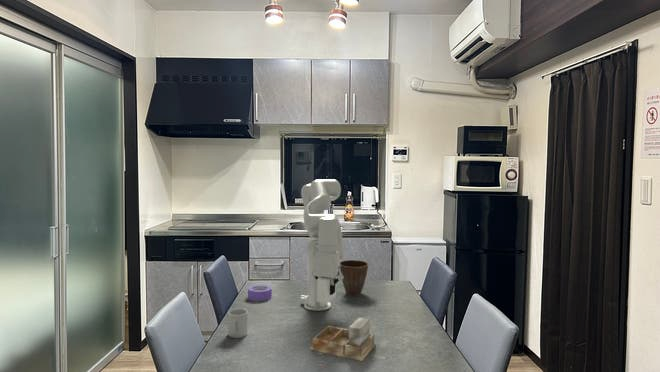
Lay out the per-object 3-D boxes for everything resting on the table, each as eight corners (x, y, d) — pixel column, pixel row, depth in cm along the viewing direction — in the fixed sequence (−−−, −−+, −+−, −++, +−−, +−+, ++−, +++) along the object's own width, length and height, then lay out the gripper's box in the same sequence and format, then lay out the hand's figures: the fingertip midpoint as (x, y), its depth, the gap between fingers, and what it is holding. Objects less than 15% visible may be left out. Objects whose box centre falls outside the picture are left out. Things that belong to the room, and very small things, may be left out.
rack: (310, 349, 147) (311, 322, 146) (327, 335, 160) (327, 309, 159) (362, 361, 138) (362, 332, 138) (375, 344, 152) (375, 318, 151)
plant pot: (368, 298, 205) (369, 267, 205) (339, 298, 205) (339, 266, 205) (366, 289, 220) (367, 260, 219) (339, 289, 220) (339, 260, 220)
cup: (249, 331, 163) (249, 309, 162) (241, 341, 153) (241, 318, 152) (232, 330, 163) (232, 308, 163) (223, 340, 153) (223, 317, 153)
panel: (316, 301, 160) (317, 279, 160) (327, 294, 170) (327, 272, 169) (325, 303, 159) (326, 280, 158) (336, 295, 168) (336, 274, 167)
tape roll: (276, 297, 205) (276, 287, 205) (257, 303, 197) (258, 292, 196) (261, 292, 213) (261, 283, 213) (243, 297, 205) (243, 288, 204)
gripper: (304, 247, 163) (304, 292, 164) (343, 252, 156) (342, 299, 157) (313, 244, 170) (312, 287, 171) (350, 248, 163) (349, 293, 164)
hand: (326, 292), depth 164 cm, fingers closed on panel, 4 cm apart
